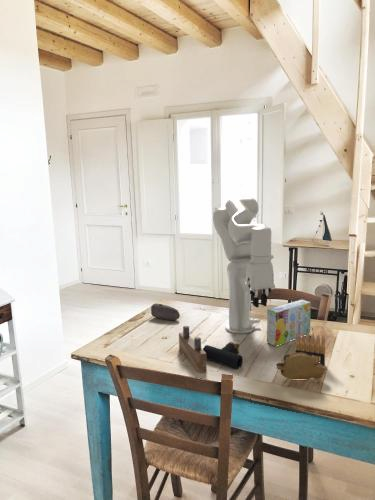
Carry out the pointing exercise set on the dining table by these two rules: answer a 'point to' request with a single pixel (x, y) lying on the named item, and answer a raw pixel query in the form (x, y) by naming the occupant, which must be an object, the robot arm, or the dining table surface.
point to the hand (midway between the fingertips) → (259, 305)
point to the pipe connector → (225, 355)
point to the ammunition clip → (311, 347)
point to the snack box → (288, 321)
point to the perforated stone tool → (164, 312)
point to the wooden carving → (300, 366)
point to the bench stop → (192, 350)
